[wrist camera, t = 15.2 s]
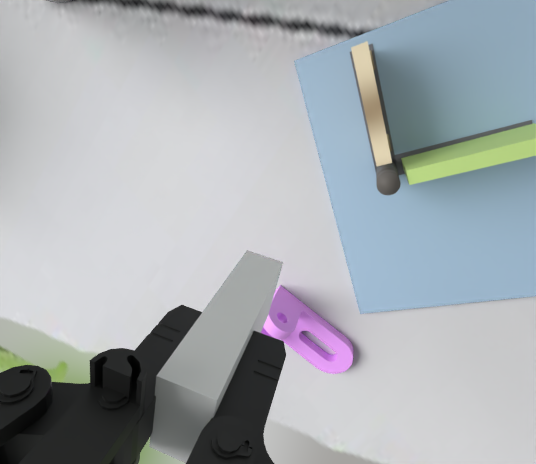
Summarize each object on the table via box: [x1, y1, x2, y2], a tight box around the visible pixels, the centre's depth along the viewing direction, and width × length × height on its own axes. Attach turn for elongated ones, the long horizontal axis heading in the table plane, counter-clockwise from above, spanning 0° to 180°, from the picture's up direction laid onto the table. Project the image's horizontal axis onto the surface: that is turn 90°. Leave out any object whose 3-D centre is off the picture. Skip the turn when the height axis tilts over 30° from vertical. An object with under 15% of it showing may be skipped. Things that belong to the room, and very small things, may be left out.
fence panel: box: [401, 123, 536, 185], centre depth 28 cm, size 10×1×6 cm, turn 108°
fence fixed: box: [351, 41, 401, 195], centre depth 29 cm, size 11×2×8 cm, turn 18°
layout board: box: [294, 0, 536, 314], centre depth 32 cm, size 28×21×1 cm
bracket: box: [261, 285, 353, 374], centre depth 41 cm, size 13×6×7 cm, turn 55°
